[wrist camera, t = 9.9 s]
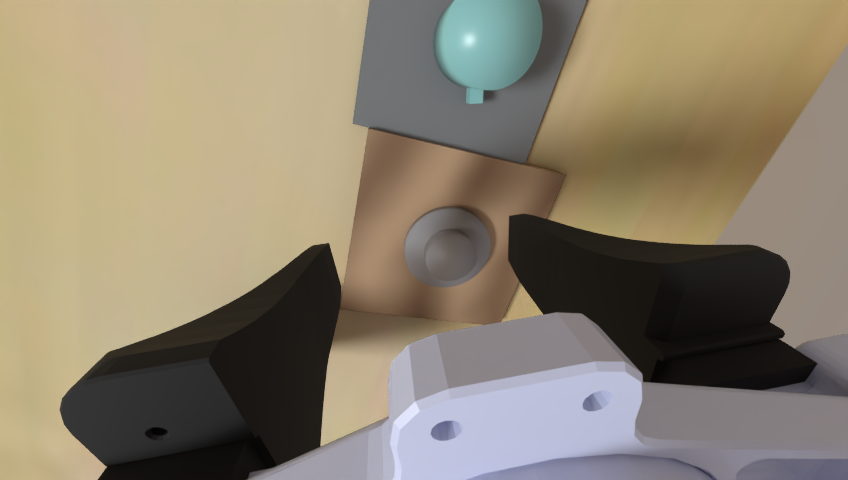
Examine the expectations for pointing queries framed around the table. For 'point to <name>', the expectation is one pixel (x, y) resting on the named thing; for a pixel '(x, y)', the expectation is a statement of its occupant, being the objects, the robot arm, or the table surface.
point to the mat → (443, 100)
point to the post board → (438, 229)
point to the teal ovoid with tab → (487, 43)
